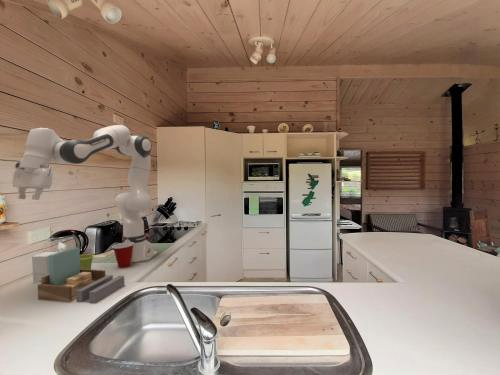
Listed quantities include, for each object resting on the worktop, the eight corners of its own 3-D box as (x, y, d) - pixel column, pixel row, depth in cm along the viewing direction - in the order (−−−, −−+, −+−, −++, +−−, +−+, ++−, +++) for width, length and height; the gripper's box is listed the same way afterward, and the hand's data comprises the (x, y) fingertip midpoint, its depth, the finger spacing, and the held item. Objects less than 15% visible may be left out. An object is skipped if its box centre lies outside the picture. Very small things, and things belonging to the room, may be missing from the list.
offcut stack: (85, 284, 111) (84, 270, 111) (95, 285, 110) (94, 271, 110) (59, 297, 100) (59, 281, 99) (70, 298, 99) (70, 282, 98)
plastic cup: (113, 264, 142) (112, 243, 142) (134, 261, 146) (134, 240, 146) (111, 270, 132) (111, 247, 132) (134, 267, 137) (134, 245, 136)
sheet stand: (108, 287, 112) (107, 274, 111) (124, 288, 110) (124, 276, 110) (76, 305, 96) (76, 290, 96) (95, 307, 94) (94, 292, 94)
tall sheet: (76, 283, 112) (75, 247, 112) (80, 284, 112) (79, 247, 111) (50, 296, 100) (48, 255, 100) (54, 296, 100) (52, 255, 100)
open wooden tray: (78, 284, 116) (77, 263, 115) (105, 286, 113) (105, 264, 113) (38, 303, 98) (37, 278, 98) (69, 306, 95) (68, 280, 95)
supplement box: (61, 278, 123) (60, 251, 123) (47, 284, 116) (46, 256, 116) (46, 277, 124) (45, 251, 124) (32, 283, 117) (31, 256, 116)
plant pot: (98, 271, 132) (98, 254, 132) (85, 278, 123) (84, 260, 122) (81, 270, 133) (81, 254, 133) (66, 277, 124) (66, 259, 123)
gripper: (60, 166, 104) (53, 201, 101) (30, 168, 112) (23, 199, 109) (42, 162, 98) (34, 198, 96) (12, 164, 106) (4, 197, 104)
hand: (28, 199), depth 103 cm, fingers open, 8 cm apart
